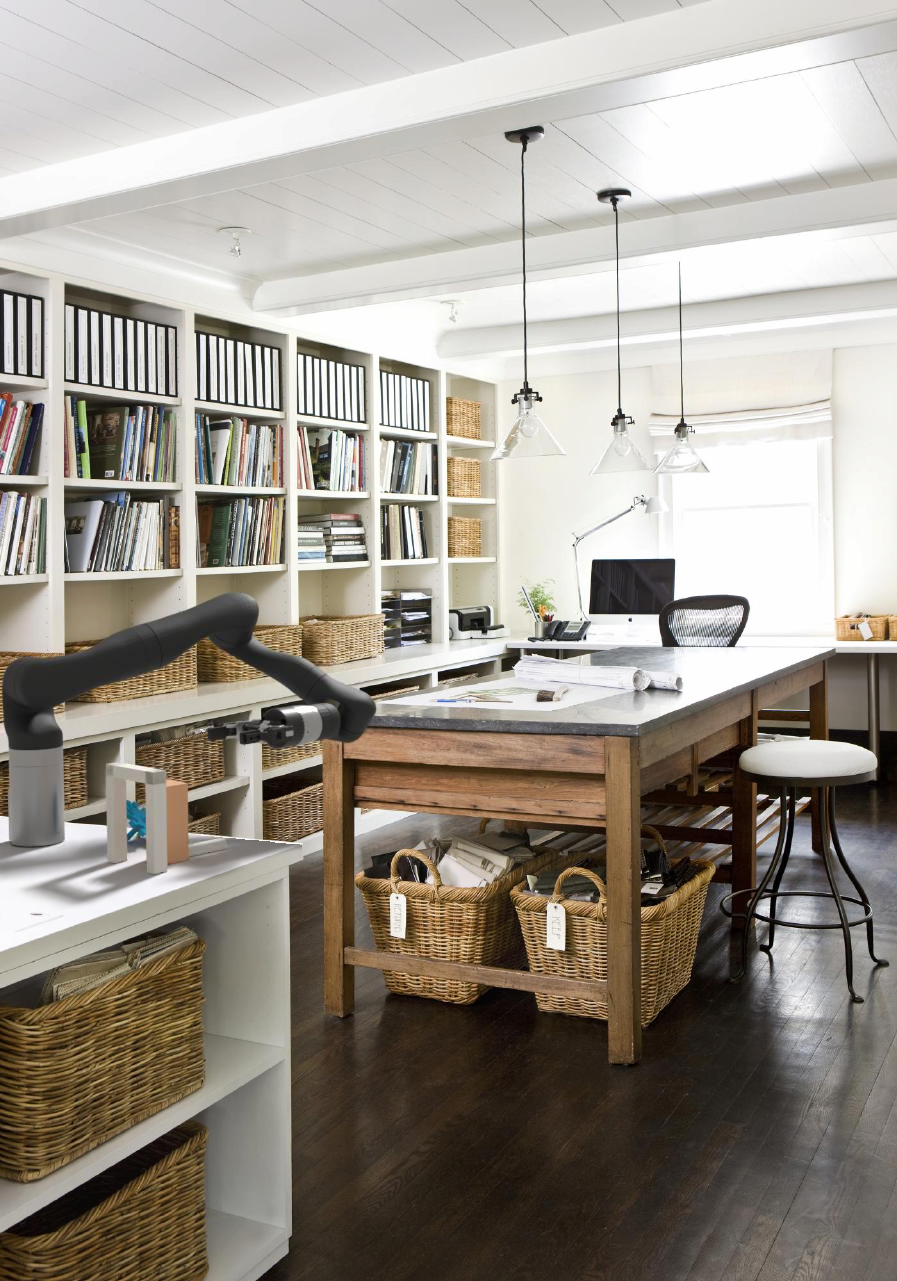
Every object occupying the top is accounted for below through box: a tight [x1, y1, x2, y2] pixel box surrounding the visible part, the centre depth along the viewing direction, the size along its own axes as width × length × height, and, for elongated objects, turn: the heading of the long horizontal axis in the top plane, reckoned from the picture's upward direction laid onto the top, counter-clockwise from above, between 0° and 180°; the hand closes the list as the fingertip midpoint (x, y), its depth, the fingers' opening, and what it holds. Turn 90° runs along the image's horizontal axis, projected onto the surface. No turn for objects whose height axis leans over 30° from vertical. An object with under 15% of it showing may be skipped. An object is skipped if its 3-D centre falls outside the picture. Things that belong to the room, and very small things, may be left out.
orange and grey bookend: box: [144, 779, 228, 865], centre depth 197 cm, size 5×14×13 cm, turn 137°
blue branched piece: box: [126, 799, 146, 843], centre depth 207 cm, size 11×6×10 cm
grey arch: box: [105, 761, 168, 875], centre depth 189 cm, size 13×2×16 cm, turn 50°
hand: (224, 736), depth 202 cm, fingers open, 8 cm apart
